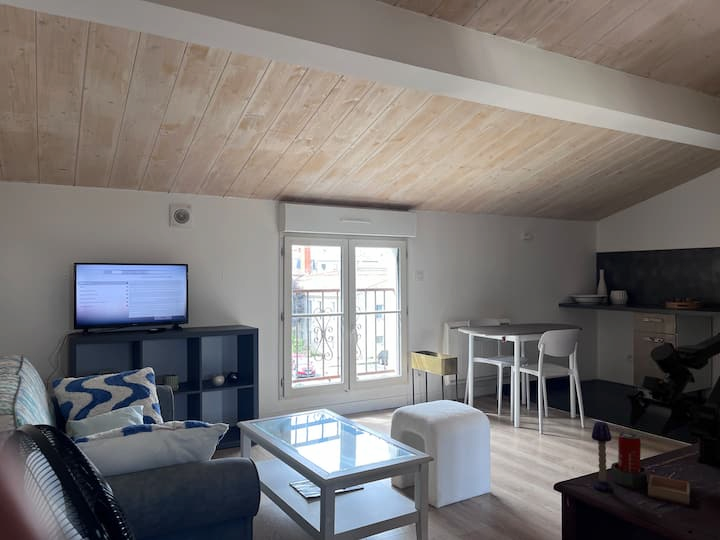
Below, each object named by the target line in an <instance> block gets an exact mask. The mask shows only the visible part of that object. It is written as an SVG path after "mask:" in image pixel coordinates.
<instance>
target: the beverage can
mask: <svg viewBox="0 0 720 540" xmlns="http://www.w3.org/2000/svg"><path fill="white" fill-rule="evenodd" d="M617 443H618V446H617V447H618V452H617V454H618V455H617V462H618V469H619V470H621V471H624V472H630V473H640V466H641V438H640V435H638V434H635V433H631V432H630V433H629V432H620V433H619V436H618V441H617Z"/></svg>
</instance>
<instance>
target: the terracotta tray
mask: <svg viewBox="0 0 720 540" xmlns="http://www.w3.org/2000/svg"><path fill="white" fill-rule="evenodd" d="M690 485H691V482H690V481H686V480H681V479H675V478H669V477H664V476H659V475H653V474H650V475H649V480H648V483H647V497H649V498H653V499H658V500H663V501H668V502H674V503H678V504H684V505H691V504H690V503H691V501H690V499H691V498H690Z"/></svg>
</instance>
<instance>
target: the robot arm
mask: <svg viewBox="0 0 720 540" xmlns="http://www.w3.org/2000/svg"><path fill="white" fill-rule="evenodd" d="M719 354H720V332H718V333H717V334H716V335H714V336H712V337H710V338H709V337H708V339H706V340H705V339H704V341H701V342H699V343H697V344H686V345H680V346H677V347H676V348H675V347H674V344H673V342H668V341H667V342H666V341H664V342H663V344H660V345H657V346H656V347H654V348H653V349H651V351H650V355H649V356H650V358H651V359H652V361H653V362H654V363H655V365H656V366H657V368H658V369H659V370H660V372H661V373H663V374H664V376H663V377H662V378H659V377H655V376H651V375H645V376H644V377H643V381H642V384H641V387H642V388H643V389H644V388H645V389H646V390H648V394H649V395H650V396H651V397H649V396H646V394H645V393H644V391H643V390H640V389H635V388H628V389H627V390H626V392H625V393H624V396H625V397H626V399H627V400H628V401H629V403H630V404H631V413H630V419H629V425H630V426H631V427H633V426H635V425H636V424H637V423H638V422H639V421H640V419H641V418H642V417H643V416H644V415H645V413H646V412H647V410H646V409H648V408H649V407H650V406H653V407H657V408H661V409H665V410H669V411H671V412H670V416H669V418H668V419H667V421H666V423H664V424H665V425H664V426H663V428H662V430H661V435H662V436H666V435H668V434H670V433H672V432H673V431H675V430H677V429H679V428H681V427H683V426H687V425H688V429H689V433H690V437H692V438H693V437H694V438H695V439H696V438H697V442H698V443H697V444H698V445H697V446H698V447H697V448H698V451H697V453H696V462H698V463H702V464H703V463H705V464H711V465H716V466H720V375H719V376H718V378H717V380H716V382H715V384H714V385H713V388H712V390H711V392H710V394H709V396H708V397H707V399H706V401H705V403H703V404H698V403H697V404H694V402H693V401H689V400H684V399H683V398H684V397H685V394H684V393H683V392H685V389H686V387H687V385H688V384H689V383H690V384H691V383H692V384H695V383H696V379H695V377H694V373H693V372H691V371H690V370H691V369H692V370H697V371H700V370H702V369H703V368H704V367H705V366H707V365H708V364H709V359H711V358H713V357H714V356H717V355H719Z"/></svg>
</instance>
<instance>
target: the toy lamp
mask: <svg viewBox="0 0 720 540" xmlns="http://www.w3.org/2000/svg"><path fill="white" fill-rule="evenodd" d="M591 439H592V440H594V441H597V444H598V447H597V449H598V453H597V454H598V469H599V470H598V475H599V476H598V480H597V481H596V482H595V483H594V485H593V488H594V489H595V490H596V491H599V492H602V491H603V492H604V493H610V492H612V491H613V486H612V485H611V484H610V483H611V482H609V481H607V479H608V478H607V458H606V457H607V453H606V452H607V447H606V444H607V442H611V441H612V434H611V430H610V428H609V424H608V422H605V421H595V423H594V425H593V428H592V433H591Z"/></svg>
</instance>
